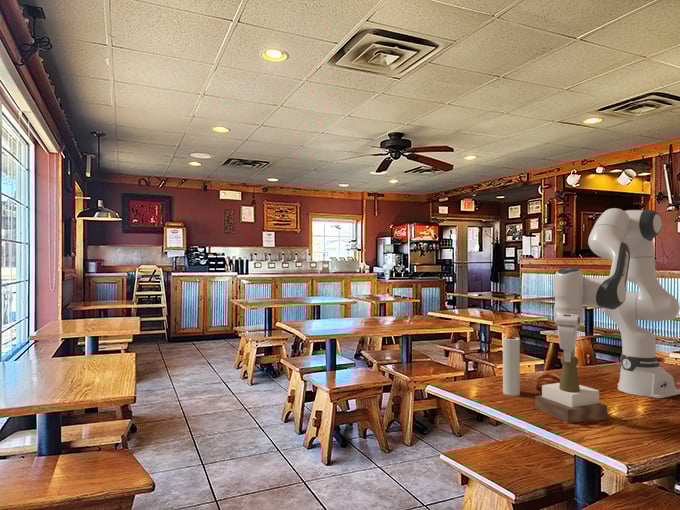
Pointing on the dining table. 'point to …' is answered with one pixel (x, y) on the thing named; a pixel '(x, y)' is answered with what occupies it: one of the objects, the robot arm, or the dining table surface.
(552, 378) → the croissant
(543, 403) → the tower base block
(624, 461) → the dining table surface
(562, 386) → the olive green pawn
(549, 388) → the tower top block
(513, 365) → the paper towel roll
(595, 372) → the dining table surface
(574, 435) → the dining table surface
